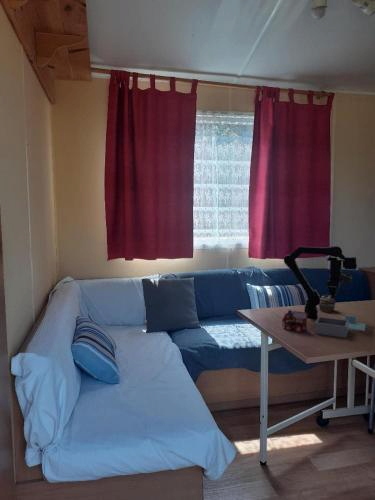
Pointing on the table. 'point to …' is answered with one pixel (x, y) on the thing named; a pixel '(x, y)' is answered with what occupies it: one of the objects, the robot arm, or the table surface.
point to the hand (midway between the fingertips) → (334, 296)
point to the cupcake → (327, 303)
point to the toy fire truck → (295, 321)
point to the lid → (353, 324)
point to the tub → (331, 327)
